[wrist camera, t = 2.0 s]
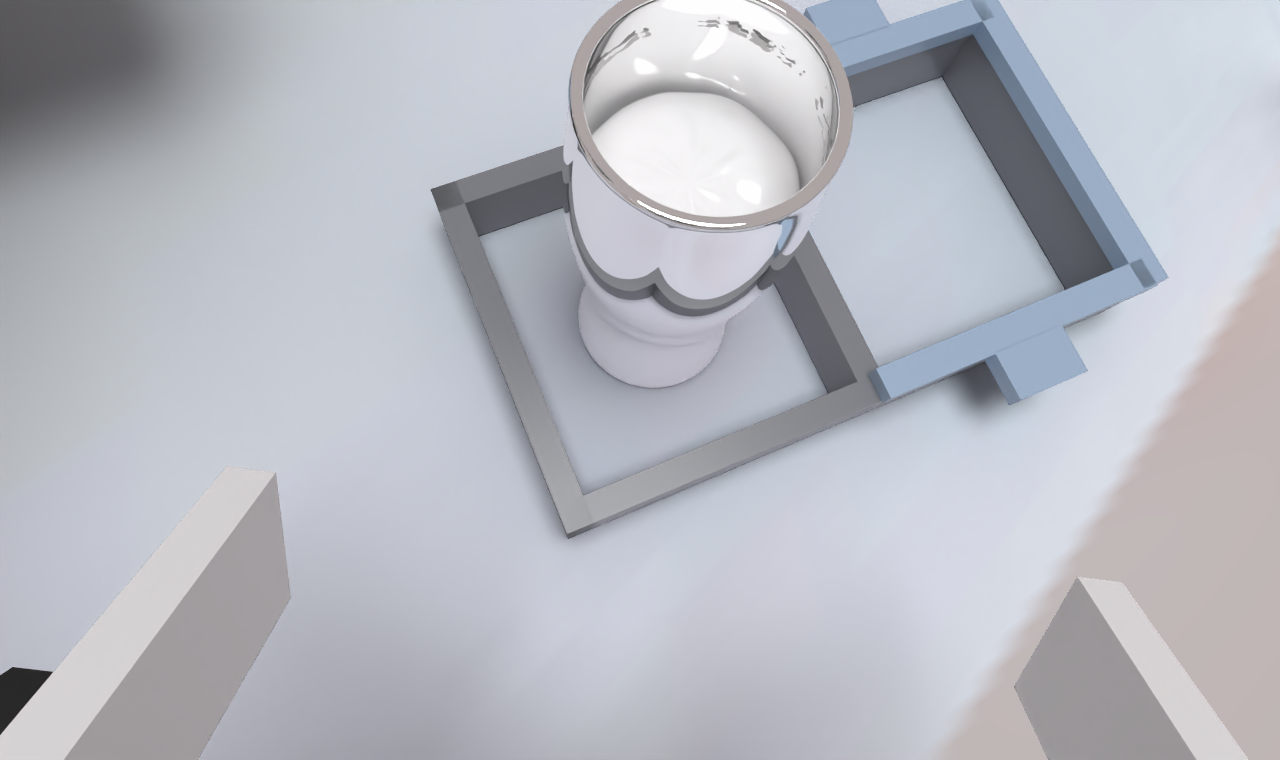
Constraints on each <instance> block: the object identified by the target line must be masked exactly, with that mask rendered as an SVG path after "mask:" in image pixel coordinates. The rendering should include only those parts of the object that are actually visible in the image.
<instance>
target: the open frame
mask: <svg viewBox="0 0 1280 760" xmlns="http://www.w3.org/2000/svg"><path fill="white" fill-rule="evenodd" d="M804 16H805V17H806V18H807V19H808V20H810V21H811V22H812V23H813V24H814V25H815V26H816V27H817V28H818V29H819V31H820V32H821V33H822V34H823V35H824V36H825V38H826V39H827V40H828V42H829V43H830V45H831V46H832V47H833V49H834V51H835V52H836V54H837V56H838V58H839V59H840V61H841V64H842V66H843V68H844V70H845V73H846V76H847V79H848V82H849V85H850V89H851V94H852V101H853V107H854V106H857V105H860V104H863V103H866V102H869V101H871V100H874V99H877V98H880V97H883V96H886V95H889V94H892V93H895V92H898V91H900V90H903V89H906V88H909V87H912V86H915V85H918V84H921V83H924V82H926V81H929V80H932V79H935V78H938V77H941V76H942V77H943V79H944V80H945V82H946V84H947V85H948V87H949V89H950V91H951V92H952V94H953V96H954V98H955V99H956V101H957V103H958V104H959V106H960V108H961V110H962V111H963V113H964V115H965V116H966V118H967V120H968V122H969V123H970V125H971V127H972V129H973V130H974V132H975V134H976V135H977V137H978V139H979V141H980V142H981V144H982V146H983V147H984V149H985V151H986V153H987V154H988V156H989V158H990V160H991V161H992V163H993V165H994V166H995V168H996V170H997V172H998V173H999V175H1000V177H1001V179H1002V180H1003V182H1004V184H1005V185H1006V187H1007V189H1008V191H1009V192H1010V194H1011V196H1012V197H1013V199H1014V201H1015V203H1016V204H1017V206H1018V208H1019V210H1020V211H1021V213H1022V215H1023V216H1024V218H1025V220H1026V222H1027V223H1028V225H1029V227H1030V228H1031V230H1032V232H1033V234H1034V235H1035V237H1036V239H1037V241H1038V242H1039V244H1040V246H1041V247H1042V249H1043V251H1044V253H1045V254H1046V256H1047V258H1048V259H1049V261H1050V263H1051V265H1052V266H1053V268H1054V270H1055V272H1056V273H1057V275H1058V277H1059V278H1060V280H1061V282H1062V284H1063V285H1064V287H1065V289H1066V290H1064V291H1062V292H1059V293H1057V294H1055V295H1052V296H1050V297H1047V298H1045V299H1043V300H1040V301H1038V302H1035V303H1033V304H1030V305H1028V306H1026V307H1023V308H1021V309H1018V310H1016V311H1014V312H1011V313H1009V314H1006V315H1004V316H1002V317H999V318H997V319H994V320H992V321H989V322H987V323H985V324H982V325H980V326H977V327H975V328H973V329H970V330H968V331H965V332H963V333H961V334H958V335H956V336H953V337H951V338H948V339H946V340H944V341H941V342H939V343H936V344H934V345H932V346H929V347H927V348H924V349H922V350H920V351H917V352H915V353H912V354H910V355H908V356H905V357H903V358H900V359H898V360H895V361H893V362H891V363H888V364H886V365H883V366H881V367H878V365H877V364H876V362H875V360H874V358H873V356H872V354H871V352H870V350H869V348H868V346H867V344H866V342H865V340H864V338H863V336H862V334H861V332H860V330H859V328H858V326H857V324H856V322H855V320H854V318H853V316H852V315H851V313H850V311H849V309H848V307H847V305H846V303H845V301H844V299H843V297H842V295H841V293H840V291H839V289H838V287H837V285H836V283H835V281H834V279H833V277H832V275H831V273H830V271H829V269H828V267H827V266H826V264H825V262H824V260H823V258H822V256H821V254H820V252H819V250H818V248H817V246H816V244H815V242H814V240H813V238H812V236H811V234H810V232H809V230H808V232H807V233H806V235H805V237H804V239H803V240H802V242H801V244H800V246H799V247H798V249H797V251H796V252H795V254H794V256H793V257H792V258H791V260H790V261H789V262H788V264H787V265H786V266H785V268H784V269H783V270H782V272H781V273H780V274H779V276H778V277H777V278H776V280H775V281H774V283H775V285H776V287H777V289H778V291H779V293H780V295H781V298H782V300H783V302H784V304H785V306H786V308H787V310H788V312H789V314H790V316H791V318H792V320H793V322H794V324H795V326H796V328H797V330H798V332H799V334H800V336H801V338H802V340H803V342H804V344H805V346H806V348H807V350H808V352H809V355H810V357H811V359H812V361H813V363H814V365H815V367H816V369H817V371H818V373H819V375H820V377H821V379H822V381H823V383H824V385H825V387H826V389H827V391H828V393H829V394H827V395H824V396H822V397H819V398H817V399H815V400H812V401H810V402H807V403H805V404H803V405H800V406H798V407H795V408H793V409H790V410H788V411H786V412H783V413H781V414H778V415H776V416H774V417H771V418H769V419H766V420H764V421H762V422H759V423H757V424H754V425H752V426H750V427H747V428H745V429H742V430H740V431H738V432H735V433H733V434H730V435H728V436H726V437H723V438H721V439H718V440H716V441H714V442H711V443H709V444H706V445H704V446H702V447H699V448H697V449H694V450H692V451H690V452H687V453H685V454H682V455H680V456H678V457H675V458H673V459H670V460H668V461H666V462H663V463H661V464H658V465H656V466H654V467H651V468H649V469H646V470H644V471H642V472H639V473H637V474H634V475H632V476H630V477H627V478H625V479H622V480H620V481H617V482H615V483H613V484H610V485H608V486H605V487H603V488H601V489H598V490H596V491H593V492H591V493H589V494H586V495H584V496H583V494H582V491H581V489H580V486H579V484H578V481H577V479H576V476H575V474H574V471H573V469H572V466H571V464H570V462H569V459H568V457H567V454H566V452H565V449H564V447H563V444H562V442H561V439H560V437H559V434H558V432H557V430H556V427H555V425H554V422H553V420H552V417H551V415H550V412H549V410H548V407H547V405H546V402H545V400H544V397H543V395H542V393H541V390H540V388H539V385H538V383H537V380H536V378H535V375H534V373H533V370H532V368H531V365H530V363H529V360H528V358H527V356H526V353H525V351H524V348H523V346H522V343H521V341H520V338H519V336H518V333H517V331H516V328H515V326H514V323H513V321H512V319H511V316H510V314H509V311H508V309H507V306H506V304H505V301H504V299H503V296H502V294H501V291H500V289H499V286H498V284H497V282H496V279H495V277H494V274H493V272H492V269H491V267H490V264H489V262H488V259H487V257H486V254H485V252H484V250H483V247H482V245H481V242H480V240H479V237H478V236H481V235H484V234H486V233H489V232H492V231H495V230H498V229H501V228H504V227H507V226H510V225H513V224H515V223H518V222H521V221H524V220H527V219H530V218H533V217H536V216H539V215H541V214H544V213H547V212H550V211H553V210H556V209H559V208H562V207H564V205H563V195H562V165H563V147H564V145H563V146H560V147H557V148H554V149H551V150H548V151H545V152H542V153H539V154H536V155H533V156H530V157H527V158H524V159H521V160H518V161H515V162H512V163H509V164H506V165H503V166H500V167H497V168H494V169H491V170H488V171H485V172H482V173H479V174H475V175H472V176H469V177H466V178H463V179H460V180H457V181H454V182H451V183H448V184H445V185H442V186H439V187H436V188H433V189H431V192H432V194H433V197H434V200H435V202H436V205H437V208H438V211H439V213H440V216H441V219H442V221H443V224H444V227H445V229H446V232H447V234H448V237H449V239H450V242H451V244H452V247H453V249H454V252H455V254H456V257H457V259H458V262H459V264H460V267H461V269H462V272H463V274H464V277H465V280H466V282H467V285H468V287H469V290H470V292H471V295H472V297H473V300H474V302H475V305H476V307H477V310H478V312H479V315H480V317H481V320H482V322H483V325H484V327H485V330H486V333H487V335H488V338H489V340H490V343H491V345H492V348H493V350H494V353H495V355H496V358H497V360H498V363H499V365H500V368H501V370H502V373H503V375H504V378H505V380H506V383H507V386H508V388H509V391H510V393H511V396H512V398H513V401H514V403H515V406H516V408H517V411H518V413H519V416H520V418H521V421H522V423H523V426H524V428H525V431H526V433H527V436H528V439H529V441H530V444H531V446H532V449H533V451H534V454H535V456H536V459H537V461H538V464H539V466H540V469H541V471H542V474H543V476H544V479H545V481H546V484H547V486H548V489H549V492H550V494H551V497H552V499H553V502H554V504H555V507H556V509H557V512H558V514H559V517H560V519H561V522H562V524H563V527H564V529H565V532H566V534H567V537H568V539H569V538H572V537H574V536H576V535H579V534H581V533H583V532H586V531H588V530H590V529H593V528H595V527H598V526H600V525H602V524H605V523H607V522H609V521H612V520H614V519H616V518H619V517H621V516H623V515H626V514H628V513H630V512H633V511H635V510H638V509H640V508H642V507H645V506H647V505H649V504H652V503H654V502H656V501H659V500H661V499H663V498H666V497H668V496H670V495H673V494H675V493H678V492H680V491H682V490H685V489H687V488H689V487H692V486H694V485H696V484H699V483H701V482H703V481H706V480H708V479H710V478H713V477H715V476H718V475H720V474H722V473H725V472H727V471H729V470H732V469H734V468H736V467H739V466H741V465H743V464H746V463H748V462H750V461H753V460H755V459H758V458H760V457H762V456H765V455H767V454H769V453H772V452H774V451H776V450H779V449H781V448H783V447H786V446H788V445H790V444H793V443H795V442H798V441H800V440H802V439H805V438H807V437H809V436H812V435H814V434H816V433H819V432H821V431H823V430H826V429H828V428H830V427H833V426H835V425H838V424H840V423H842V422H845V421H847V420H849V419H852V418H854V417H856V416H859V415H861V414H863V413H866V412H868V411H870V410H873V409H875V408H878V407H880V406H882V405H885V404H887V403H889V402H892V401H894V400H896V399H899V398H901V397H903V396H906V395H908V394H910V393H913V392H915V391H918V390H920V389H922V388H925V387H927V386H929V385H932V384H934V383H936V382H939V381H941V380H943V379H946V378H948V377H950V376H953V375H955V374H958V373H960V372H962V371H965V370H967V369H969V368H972V367H974V366H976V365H979V364H981V363H983V362H986V363H987V365H988V367H989V369H990V371H991V373H992V374H993V376H994V378H995V380H996V382H997V384H998V386H999V387H1000V389H1001V391H1002V393H1003V395H1004V397H1005V398H1006V400H1007V402H1008V404H1009V405H1011V404H1013V403H1015V402H1018V401H1020V400H1023V399H1025V398H1027V397H1029V396H1032V395H1034V394H1036V393H1038V392H1041V391H1043V390H1045V389H1048V388H1050V387H1052V386H1054V385H1057V384H1059V383H1061V382H1063V381H1066V380H1068V379H1070V378H1073V377H1075V376H1077V375H1079V374H1082V373H1084V372H1086V371H1088V370H1087V368H1086V366H1085V365H1084V363H1083V361H1082V359H1081V358H1080V356H1079V354H1078V352H1077V351H1076V349H1075V347H1074V345H1073V344H1072V342H1071V340H1070V338H1069V337H1068V335H1067V333H1066V331H1065V330H1064V328H1066V327H1068V326H1070V325H1073V324H1075V323H1078V322H1080V321H1082V320H1085V319H1087V318H1089V317H1092V316H1094V315H1096V314H1099V313H1101V312H1103V311H1105V310H1107V309H1109V308H1111V307H1113V306H1115V305H1117V304H1119V303H1121V302H1123V301H1125V300H1127V299H1130V298H1132V297H1134V296H1137V295H1139V294H1141V293H1144V292H1146V291H1147V290H1149V289H1151V288H1153V287H1155V286H1157V284H1158V283H1160V282H1161V281H1163V280H1165V279H1167V278H1169V277H1168V276H1167V274H1166V272H1165V271H1164V269H1163V267H1162V266H1161V264H1160V263H1159V261H1158V259H1157V258H1156V256H1155V254H1154V253H1153V251H1152V250H1151V248H1150V246H1149V245H1148V243H1147V241H1146V240H1145V238H1144V237H1143V235H1142V233H1141V232H1140V230H1139V228H1138V227H1137V225H1136V224H1135V222H1134V220H1133V219H1132V217H1131V215H1130V214H1129V212H1128V210H1127V209H1126V207H1125V206H1124V204H1123V202H1122V201H1121V199H1120V197H1119V196H1118V194H1117V193H1116V191H1115V189H1114V188H1113V186H1112V184H1111V183H1110V181H1109V180H1108V178H1107V176H1106V175H1105V173H1104V171H1103V170H1102V168H1101V167H1100V165H1099V163H1098V162H1097V160H1096V158H1095V157H1094V155H1093V154H1092V152H1091V150H1090V149H1089V147H1088V145H1087V144H1086V142H1085V141H1084V139H1083V137H1082V136H1081V134H1080V132H1079V131H1078V129H1077V127H1076V126H1075V124H1074V123H1073V121H1072V119H1071V118H1070V116H1069V114H1068V113H1067V111H1066V110H1065V108H1064V106H1063V105H1062V103H1061V101H1060V100H1059V98H1058V97H1057V95H1056V93H1055V92H1054V90H1053V88H1052V87H1051V85H1050V84H1049V82H1048V80H1047V79H1046V77H1045V75H1044V74H1043V72H1042V71H1041V69H1040V67H1039V66H1038V64H1037V62H1036V61H1035V59H1034V58H1033V56H1032V54H1031V53H1030V51H1029V49H1028V48H1027V46H1026V44H1025V43H1024V41H1023V40H1022V38H1021V36H1020V35H1019V33H1018V31H1017V30H1016V28H1015V27H1014V25H1013V23H1012V22H1011V20H1010V18H1009V17H1008V15H1007V14H1006V12H1005V10H1004V9H1003V7H1002V5H1001V4H1000V2H999V1H998V0H963V1H960V2H957V3H954V4H951V5H948V6H945V7H941V8H938V9H935V10H932V11H929V12H926V13H923V14H920V15H917V16H914V17H911V18H908V19H905V20H902V21H899V22H896V23H893V24H889V22H888V21H887V19H886V17H885V15H884V14H883V12H882V10H881V8H880V7H879V5H878V3H877V2H876V0H830V1H827V2H824V3H821V4H818V5H815V6H811V7H808V8H806V10H805V13H804Z"/></svg>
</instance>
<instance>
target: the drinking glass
mask: <svg viewBox="0 0 1280 760" xmlns="http://www.w3.org/2000/svg"><path fill="white" fill-rule="evenodd" d="M852 127H853V101H852V94H851V89H850V85H849V82H848V79H847V76H846V73H845V70H844V68H843V66H842V64H841V61H840V59H839V58H838V56H837V54H836V52H835V51H834V49H833V47H832V46H831V45H830V43H829V42H828V40H827V39H826V38H825V36H824V35H823V34H822V33H821V32H820V31H819V29H818V28H817V27H816V26H815V25H814V24H813V23H812V22H811V21H810V20H808V19H807V18H806V17H805V16H804V15H803V14H801V13H800V12H799V11H798V10H796V9H795V8H793V7H792V6H790V5H789V4H787V3H786V2H784V1H782V0H621V1H620V2H618V3H617V4H616V5H614V6H613V7H612V8H610V9H609V10H608V11H607V12H606V13H604V14H603V15H602V16H601V17H600V18H599V19H598V21H597V22H596V23H595V24H594V25H593V26H592V28H591V29H590V30H589V32H588V33H587V35H586V36H585V38H584V39H583V41H582V43H581V45H580V47H579V49H578V51H577V53H576V56H575V59H574V61H573V65H572V68H571V72H570V78H569V86H568V112H567V120H566V128H565V137H564V147H563V165H562V195H563V205H564V214H565V223H566V228H567V233H568V237H569V240H570V243H571V246H572V250H573V253H574V256H575V259H576V262H577V264H578V267H579V269H580V271H581V273H582V276H583V278H584V280H585V282H586V284H585V286H584V289H583V291H582V294H581V297H580V302H579V309H578V323H579V329H580V334H581V337H582V340H583V342H584V345H585V347H586V348H587V350H588V352H589V354H590V355H591V356H592V358H593V359H594V360H595V361H596V363H597V364H598V365H599V366H600V367H601V368H602V369H604V370H605V371H606V372H607V373H609V374H610V375H611V376H613V377H615V378H616V379H618V380H620V381H623V382H625V383H628V384H631V385H634V386H638V387H645V388H662V387H669V386H673V385H676V384H679V383H682V382H684V381H687V380H689V379H690V378H692V377H694V376H695V375H697V374H698V373H700V372H701V371H702V370H703V369H704V368H705V367H706V366H707V365H708V364H709V363H710V362H711V360H712V359H713V358H714V356H715V355H716V353H717V351H718V349H719V347H720V345H721V342H722V339H723V336H724V332H725V326H726V322H727V321H728V320H730V319H731V318H733V317H734V316H736V315H737V314H738V313H740V312H741V311H743V310H744V309H745V308H746V307H748V306H749V305H750V304H751V303H752V302H753V301H754V300H756V299H757V298H758V297H759V296H760V295H761V294H762V293H763V292H764V291H766V290H767V289H768V288H769V287H770V286H771V284H772V283H773V282H774V281H775V280H776V278H777V277H778V276H779V274H780V273H781V272H782V270H783V269H784V268H785V266H786V265H787V264H788V262H789V261H790V260H791V258H792V257H793V256H794V254H795V252H796V251H797V249H798V247H799V246H800V244H801V242H802V240H803V239H804V237H805V235H806V233H807V232H808V230H809V228H810V226H811V224H812V222H813V220H814V218H815V216H816V214H817V212H818V210H819V208H820V206H821V204H822V201H823V199H824V197H825V195H826V192H827V190H828V188H829V185H830V183H831V181H832V179H833V177H834V176H835V174H836V173H837V171H838V169H839V168H840V166H841V164H842V162H843V160H844V157H845V155H846V152H847V149H848V146H849V143H850V139H851V134H852Z"/></svg>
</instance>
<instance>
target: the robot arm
mask: <svg viewBox="0 0 1280 760" xmlns="http://www.w3.org/2000/svg"><path fill="white" fill-rule="evenodd" d="M290 598H291V596H290V588H289V579H288V571H287V562H286V554H285V546H284V537H283V529H282V520H281V512H280V503H279V495H278V486H277V478H276V472H268V471H261V470H253V469H245V468H238V467H230V466H226V468H225V469H224V470H223V471H222V472H221V474H220V475H219V476H218V477H217V478H216V479H215V481H214V482H213V483H212V484H211V485H210V487H209V488H208V489H207V490H206V491H205V493H204V494H203V495H202V496H201V497H200V498H199V500H198V501H197V502H196V503H195V504H194V506H193V507H192V508H191V509H190V510H189V512H188V513H187V514H186V515H185V516H184V517H183V519H182V520H181V521H180V522H179V523H178V525H177V526H176V527H175V528H174V529H173V531H172V532H171V533H170V534H169V535H168V536H167V538H166V539H165V540H164V541H163V542H162V544H161V545H160V546H159V547H158V548H157V550H156V551H155V552H154V553H153V554H152V555H151V557H150V558H149V559H148V560H147V561H146V563H145V564H144V565H143V566H142V567H141V569H140V570H139V571H138V572H137V573H136V575H135V576H134V577H133V578H132V579H131V580H130V582H129V583H128V584H127V585H126V586H125V588H124V589H123V590H122V591H121V592H120V594H119V595H118V596H117V597H116V598H115V599H114V601H113V602H112V603H111V604H110V605H109V607H108V608H107V609H106V610H105V611H104V613H103V614H102V615H101V616H100V617H99V618H98V620H97V621H96V622H95V623H94V624H93V626H92V627H91V628H90V629H89V630H88V632H87V633H86V634H85V635H84V636H83V637H82V639H81V640H80V641H79V642H78V643H77V645H76V646H75V647H74V648H73V649H72V651H71V652H70V653H69V654H68V655H67V656H66V658H65V659H64V660H63V661H62V662H61V664H60V665H59V666H58V667H57V668H56V670H55V671H54V672H50V671H41V670H32V669H24V668H15V667H12V668H11V669H9V670H8V671H6V672H5V673H3V674H2V675H0V760H198V758H199V756H200V755H201V753H202V751H203V750H204V748H205V746H206V744H207V743H208V741H209V739H210V737H211V736H212V734H213V732H214V730H215V729H216V727H217V725H218V723H219V722H220V720H221V718H222V716H223V715H224V713H225V711H226V710H227V708H228V706H229V704H230V703H231V701H232V699H233V697H234V696H235V694H236V692H237V690H238V689H239V687H240V685H241V683H242V682H243V680H244V678H245V676H246V675H247V673H248V671H249V669H250V668H251V666H252V664H253V663H254V661H255V659H256V657H257V656H258V654H259V652H260V650H261V649H262V647H263V645H264V643H265V642H266V640H267V638H268V636H269V635H270V633H271V631H272V629H273V628H274V626H275V624H276V622H277V621H278V619H279V617H280V616H281V614H282V612H283V610H284V609H285V607H286V605H287V603H288V602H289V600H290ZM1014 688H1015V690H1016V692H1017V694H1018V696H1019V698H1020V700H1021V703H1022V705H1023V707H1024V709H1025V711H1026V713H1027V716H1028V718H1029V720H1030V722H1031V724H1032V726H1033V728H1034V731H1035V733H1036V735H1037V737H1038V739H1039V741H1040V743H1041V746H1042V748H1043V750H1044V752H1045V754H1046V756H1047V758H1048V760H1248V758H1247V757H1246V756H1245V754H1244V753H1243V751H1242V750H1241V749H1240V747H1239V746H1238V744H1237V743H1236V741H1235V740H1234V739H1233V737H1232V736H1231V735H1230V733H1229V732H1228V730H1227V729H1226V727H1225V726H1224V725H1223V723H1222V722H1221V720H1220V719H1219V718H1218V716H1217V715H1216V713H1215V712H1214V711H1213V710H1212V708H1211V706H1210V705H1209V704H1208V702H1207V701H1206V700H1205V698H1204V697H1203V695H1202V694H1201V692H1200V691H1199V690H1198V688H1197V687H1196V686H1195V684H1194V683H1193V681H1192V680H1191V679H1190V677H1189V676H1188V674H1187V673H1186V671H1185V670H1184V669H1183V667H1182V666H1181V664H1180V663H1179V662H1178V660H1177V659H1176V657H1175V656H1174V655H1173V653H1172V652H1171V650H1170V649H1169V648H1168V646H1167V645H1166V643H1165V642H1164V641H1163V639H1162V638H1161V636H1160V635H1159V634H1158V632H1157V631H1156V629H1155V628H1154V627H1153V625H1152V624H1151V622H1150V621H1149V620H1148V618H1147V617H1146V615H1145V614H1144V612H1143V611H1142V610H1141V608H1140V607H1139V605H1138V604H1137V603H1136V601H1135V600H1134V599H1133V597H1132V596H1131V594H1130V593H1129V592H1128V590H1127V589H1126V587H1125V586H1124V585H1123V583H1122V582H1115V581H1108V580H1100V579H1092V578H1084V577H1077V578H1076V580H1075V582H1074V584H1073V585H1072V587H1071V589H1070V590H1069V592H1068V594H1067V596H1066V597H1065V599H1064V601H1063V603H1062V605H1061V606H1060V608H1059V610H1058V611H1057V613H1056V615H1055V617H1054V618H1053V620H1052V622H1051V623H1050V625H1049V627H1048V629H1047V630H1046V632H1045V634H1044V636H1043V637H1042V639H1041V641H1040V643H1039V645H1038V646H1037V648H1036V649H1035V651H1034V653H1033V655H1032V656H1031V658H1030V660H1029V662H1028V664H1027V665H1026V667H1025V669H1024V670H1023V672H1022V674H1021V676H1020V677H1019V679H1018V681H1017V683H1016V684H1015V686H1014Z"/></svg>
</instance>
